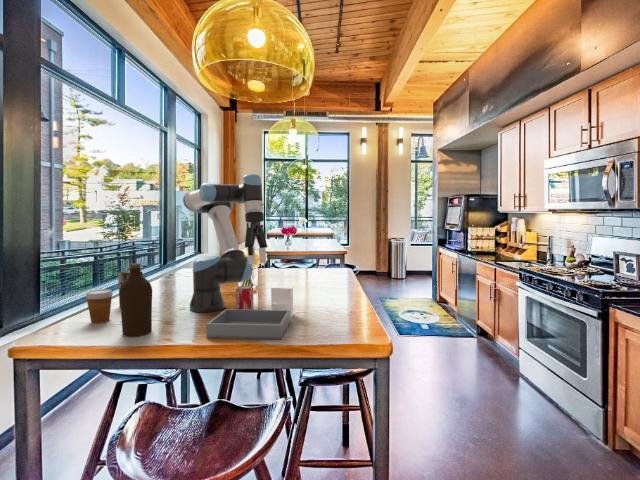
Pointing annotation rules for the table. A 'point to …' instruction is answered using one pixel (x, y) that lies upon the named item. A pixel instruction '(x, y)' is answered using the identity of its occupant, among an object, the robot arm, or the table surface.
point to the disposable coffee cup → (99, 305)
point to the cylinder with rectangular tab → (282, 299)
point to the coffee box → (123, 278)
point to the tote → (249, 324)
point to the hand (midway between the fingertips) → (257, 263)
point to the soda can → (244, 298)
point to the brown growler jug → (136, 304)
